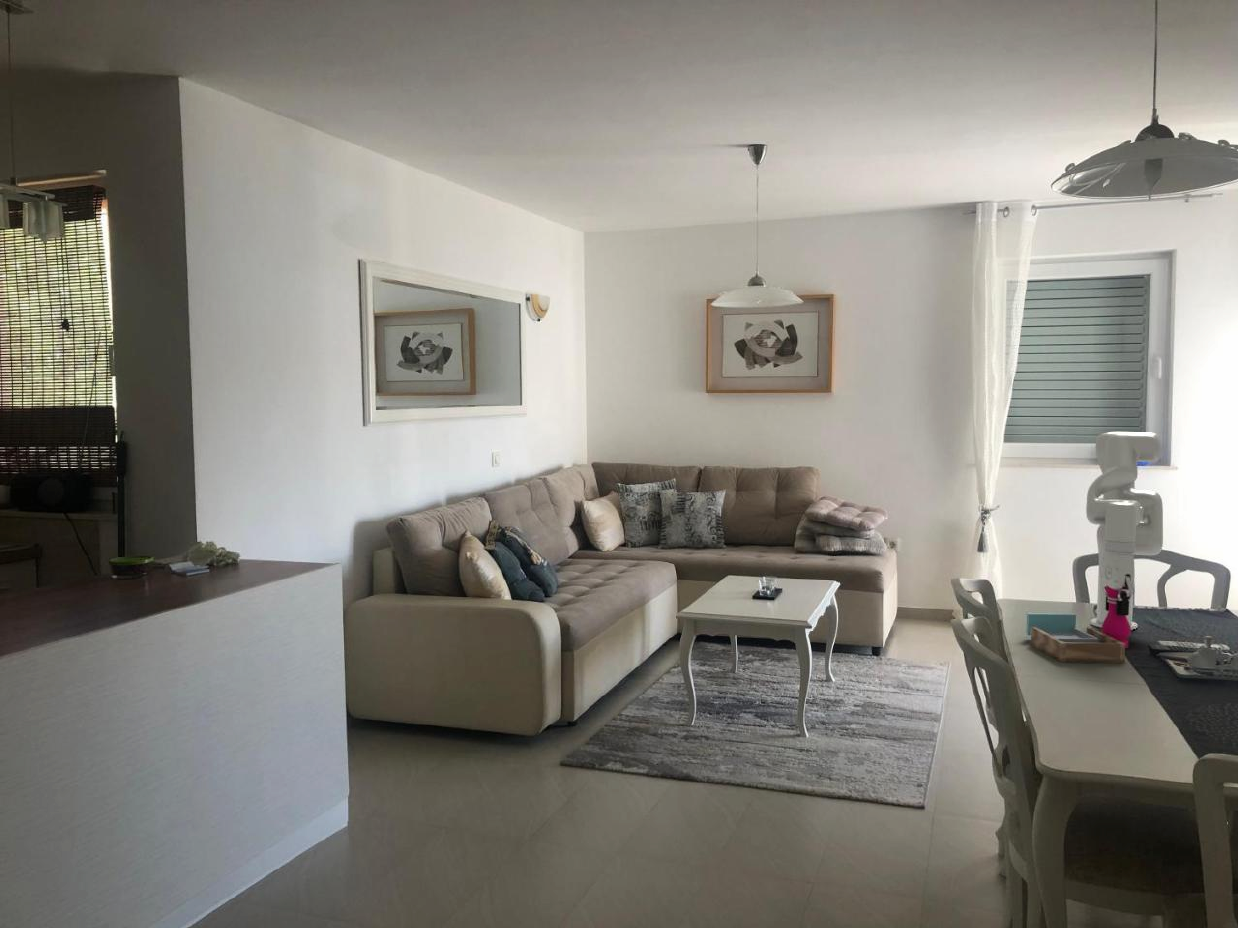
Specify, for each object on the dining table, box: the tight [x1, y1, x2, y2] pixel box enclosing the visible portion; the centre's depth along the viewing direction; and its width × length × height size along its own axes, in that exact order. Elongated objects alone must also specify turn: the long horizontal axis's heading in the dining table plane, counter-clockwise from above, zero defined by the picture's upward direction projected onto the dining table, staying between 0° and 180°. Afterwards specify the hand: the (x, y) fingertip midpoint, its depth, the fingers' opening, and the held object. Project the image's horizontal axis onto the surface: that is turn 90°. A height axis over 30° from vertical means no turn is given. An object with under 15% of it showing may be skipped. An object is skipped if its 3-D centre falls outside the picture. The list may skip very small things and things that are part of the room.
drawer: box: [1025, 612, 1100, 643], centre depth 271 cm, size 16×13×6 cm
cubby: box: [1030, 627, 1126, 664], centre depth 263 cm, size 18×16×5 cm
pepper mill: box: [1101, 586, 1132, 649], centre depth 271 cm, size 7×7×20 cm
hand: (1116, 612), depth 271 cm, fingers closed on pepper mill, 5 cm apart
